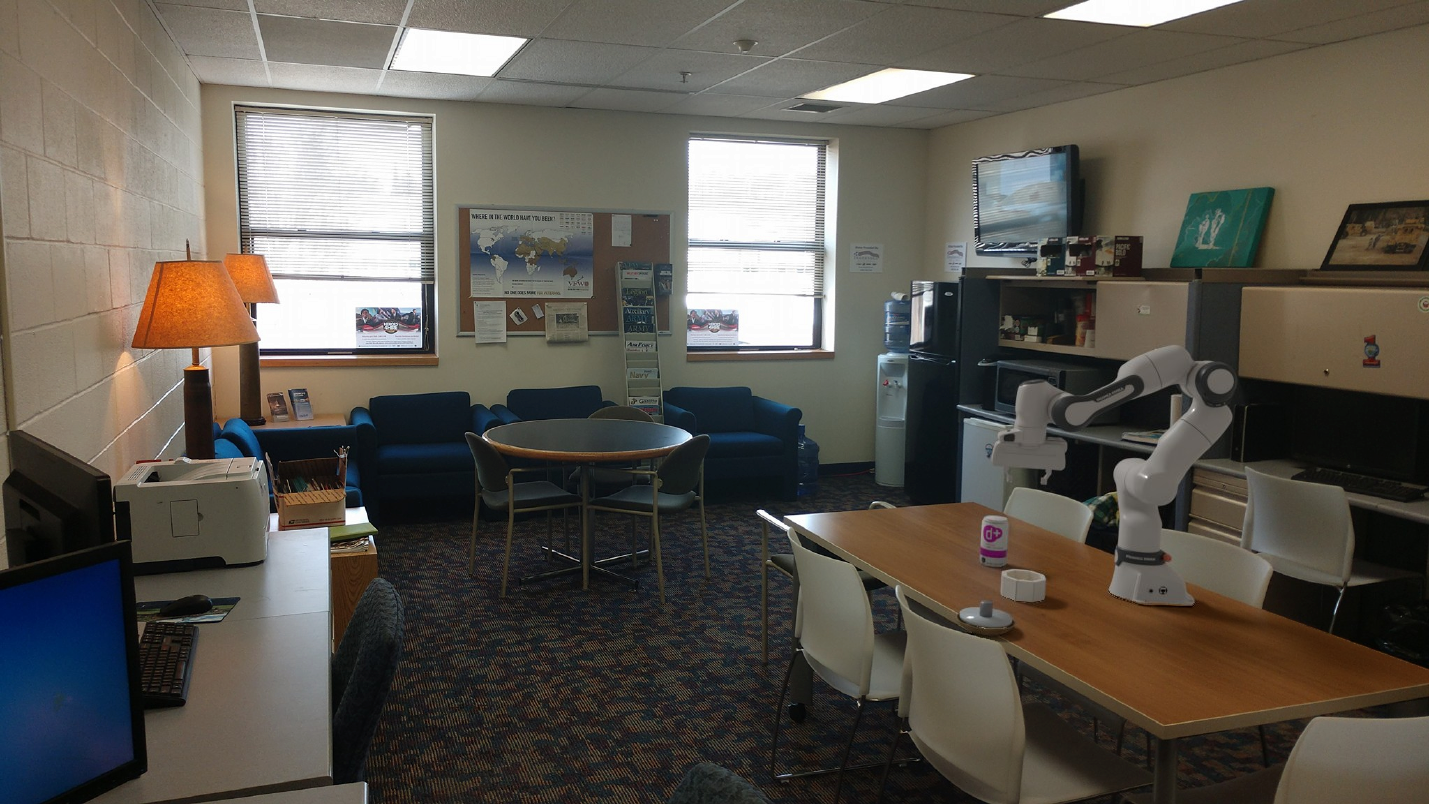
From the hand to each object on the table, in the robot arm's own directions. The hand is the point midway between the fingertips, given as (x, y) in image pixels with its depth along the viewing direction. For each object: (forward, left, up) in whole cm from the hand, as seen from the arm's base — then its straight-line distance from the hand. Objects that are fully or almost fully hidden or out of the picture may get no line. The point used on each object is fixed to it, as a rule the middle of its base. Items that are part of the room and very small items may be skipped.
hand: (1026, 483), depth 278 cm
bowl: (0, +8, -31) cm, 32 cm away
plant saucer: (+12, +38, -32) cm, 51 cm away
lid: (+12, +38, -29) cm, 49 cm away
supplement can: (+6, -23, -31) cm, 39 cm away
